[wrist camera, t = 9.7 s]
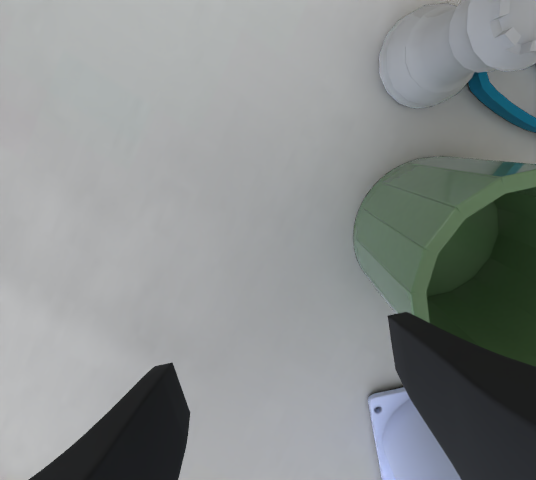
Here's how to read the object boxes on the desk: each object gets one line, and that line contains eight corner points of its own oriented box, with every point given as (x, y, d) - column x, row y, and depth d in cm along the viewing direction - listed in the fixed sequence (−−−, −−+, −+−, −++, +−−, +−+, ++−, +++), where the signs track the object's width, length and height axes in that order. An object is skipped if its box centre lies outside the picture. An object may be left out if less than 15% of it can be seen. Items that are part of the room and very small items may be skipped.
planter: (501, 282, 21) (640, 362, 14) (364, 312, 21) (424, 407, 14) (495, 140, 19) (658, 141, 11) (341, 176, 19) (398, 200, 12)
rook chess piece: (357, 54, 18) (436, -12, 10) (433, -10, 17) (581, -136, 9) (406, 127, 19) (511, 119, 11) (479, 69, 18) (646, 16, 10)
